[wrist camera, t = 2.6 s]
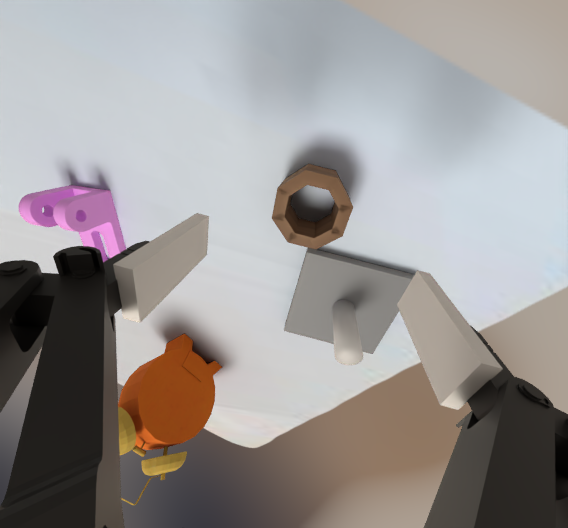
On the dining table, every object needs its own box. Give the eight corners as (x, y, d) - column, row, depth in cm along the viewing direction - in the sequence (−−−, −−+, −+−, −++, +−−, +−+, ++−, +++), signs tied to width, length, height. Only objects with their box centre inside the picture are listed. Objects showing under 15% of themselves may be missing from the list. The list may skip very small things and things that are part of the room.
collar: (289, 158, 26) (282, 164, 21) (355, 175, 25) (361, 184, 21) (276, 221, 29) (268, 237, 25) (333, 236, 29) (335, 254, 25)
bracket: (72, 184, 31) (12, 197, 25) (111, 190, 31) (59, 204, 25) (100, 268, 38) (58, 294, 32) (133, 273, 37) (96, 300, 31)
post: (307, 247, 30) (302, 289, 22) (413, 274, 30) (447, 327, 22) (285, 323, 37) (274, 377, 29) (370, 346, 37) (384, 406, 29)
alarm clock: (158, 338, 44) (51, 472, 27) (178, 327, 41) (76, 465, 24) (207, 380, 48) (143, 518, 31) (228, 371, 46) (171, 516, 28)
